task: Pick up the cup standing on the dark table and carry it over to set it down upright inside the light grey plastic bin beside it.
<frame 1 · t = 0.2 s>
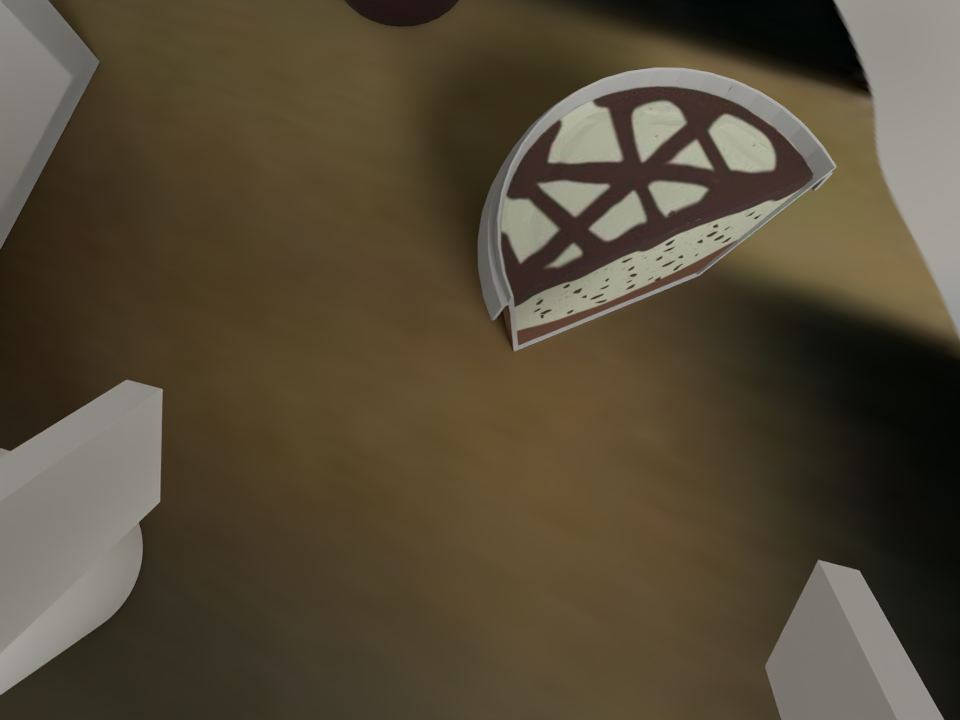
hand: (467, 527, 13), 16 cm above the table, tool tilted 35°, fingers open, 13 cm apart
food container: (579, 254, 31), on the table
cup: (66, 554, 28), on the table
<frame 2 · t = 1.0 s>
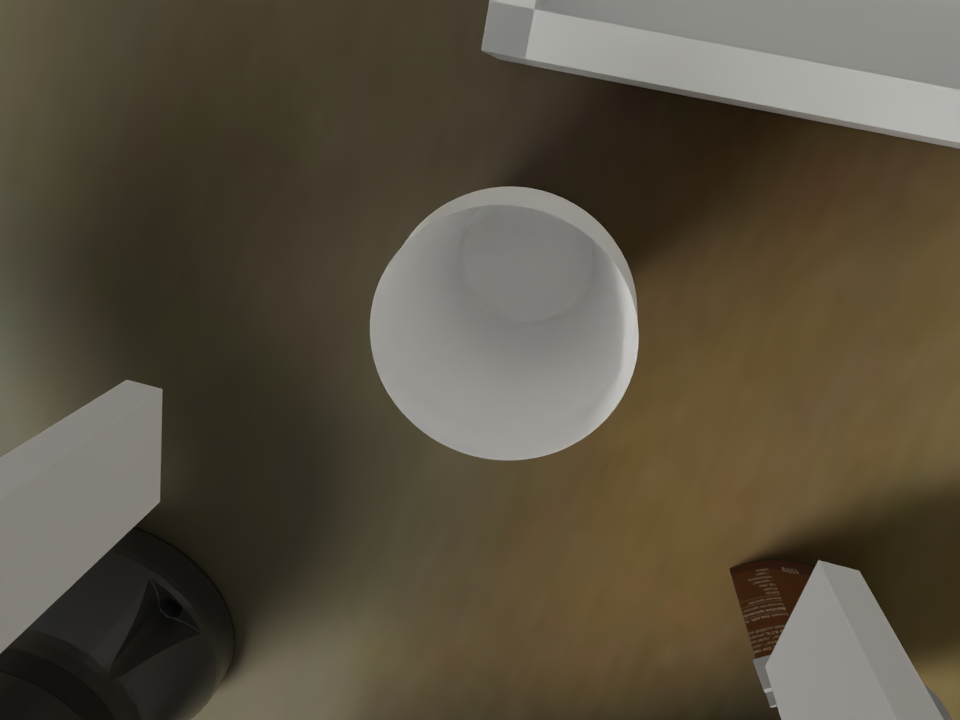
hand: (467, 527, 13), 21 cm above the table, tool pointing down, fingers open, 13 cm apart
food container: (817, 607, 38), on the table
cup: (526, 258, 33), on the table
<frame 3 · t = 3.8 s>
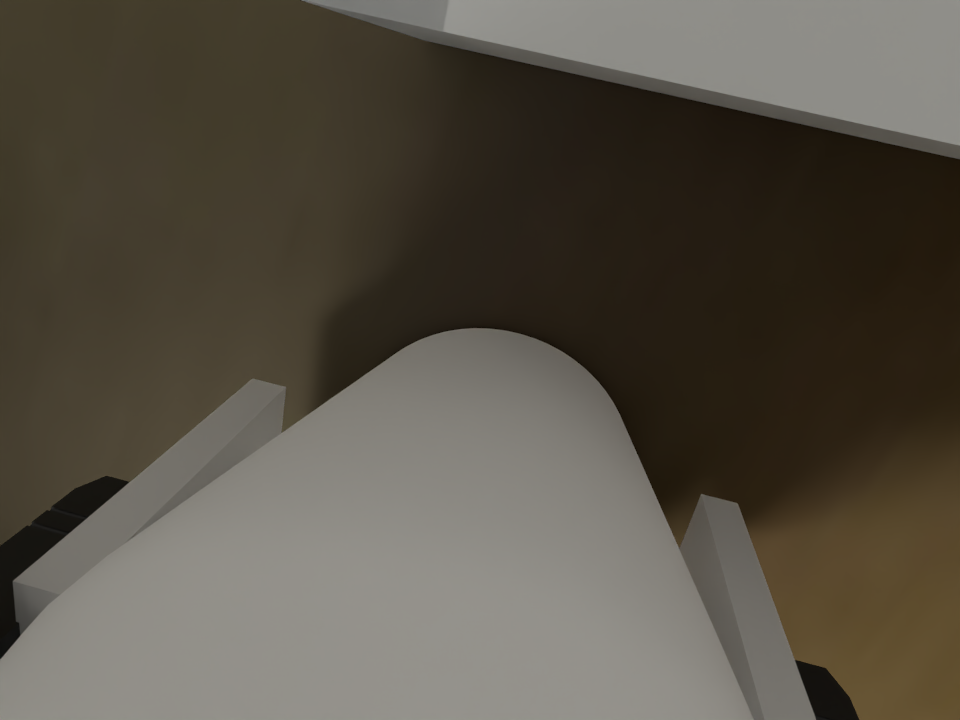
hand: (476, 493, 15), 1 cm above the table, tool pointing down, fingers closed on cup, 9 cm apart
cup: (487, 455, 16), on the table, touching gripper
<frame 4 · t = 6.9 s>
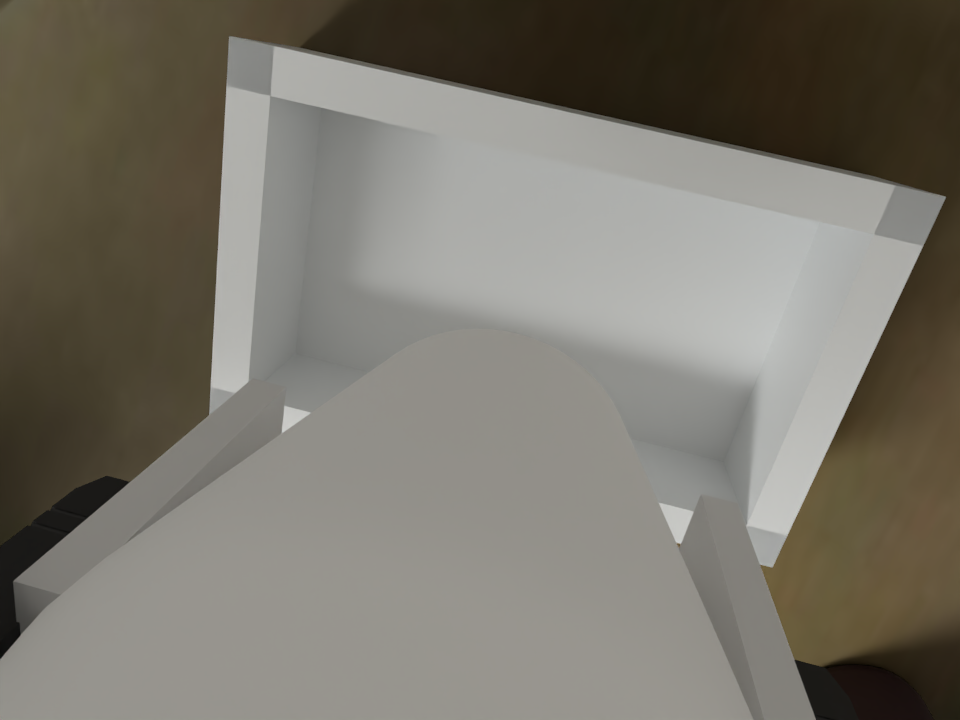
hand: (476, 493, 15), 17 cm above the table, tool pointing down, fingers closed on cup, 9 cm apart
bin: (535, 283, 31), on the table
wine bottle: (849, 707, 37), on the table
cup: (487, 455, 16), point 16 cm above the table, touching gripper
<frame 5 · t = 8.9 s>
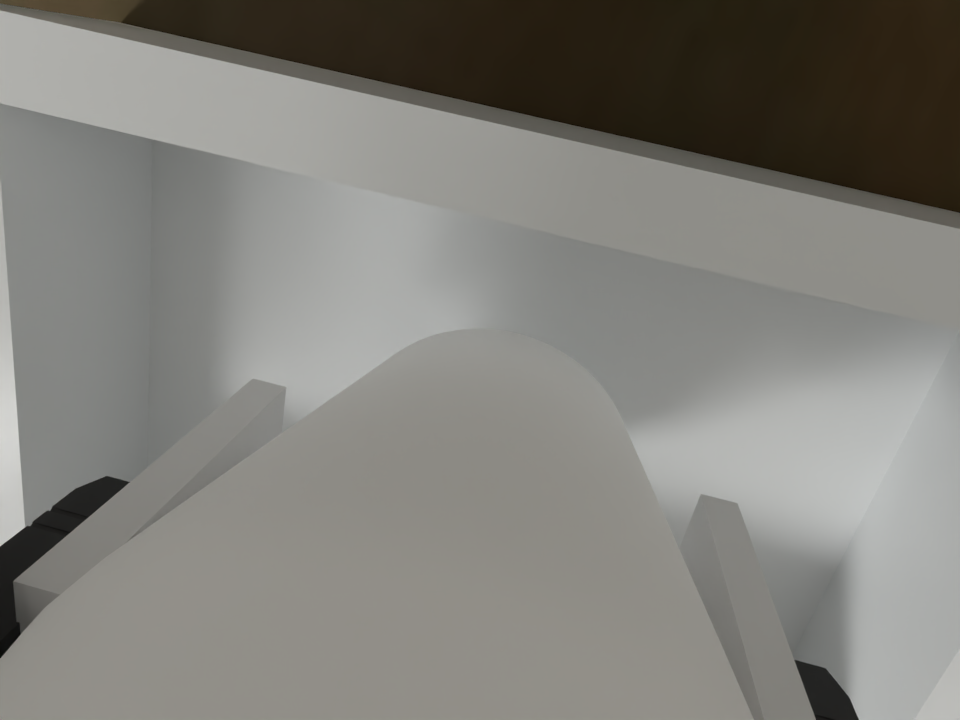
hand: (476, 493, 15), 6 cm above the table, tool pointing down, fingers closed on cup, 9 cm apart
bin: (504, 389, 20), on the table
cup: (487, 455, 16), point 4 cm above the table, touching gripper
when the fingers open (4 cm above the table, at t = 10.2 s): cup drops 1 cm, resting on bin.
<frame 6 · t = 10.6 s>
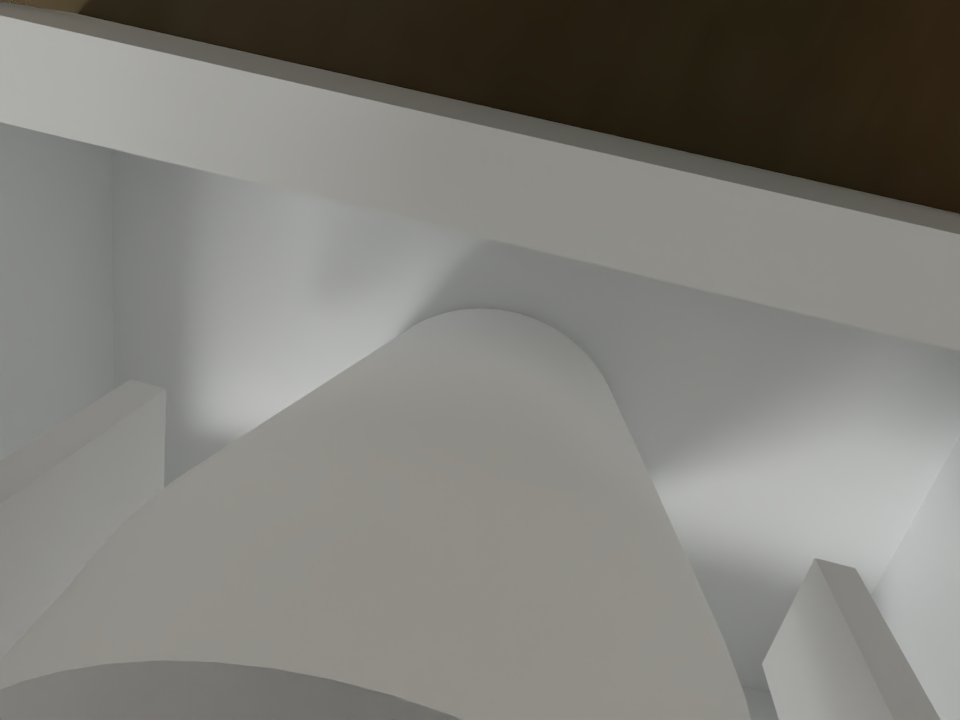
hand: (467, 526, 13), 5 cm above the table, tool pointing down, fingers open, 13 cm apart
bin: (499, 413, 18), on the table
cup: (488, 427, 17), point 1 cm above the table, touching bin
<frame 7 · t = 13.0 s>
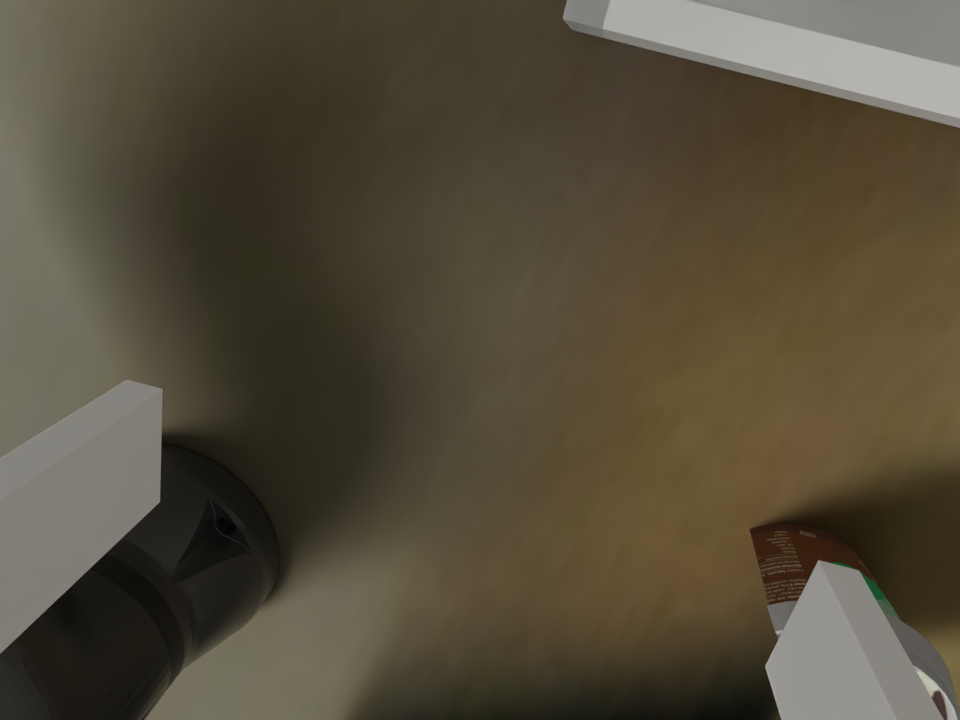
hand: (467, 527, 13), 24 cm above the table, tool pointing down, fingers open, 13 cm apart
food container: (830, 573, 40), on the table
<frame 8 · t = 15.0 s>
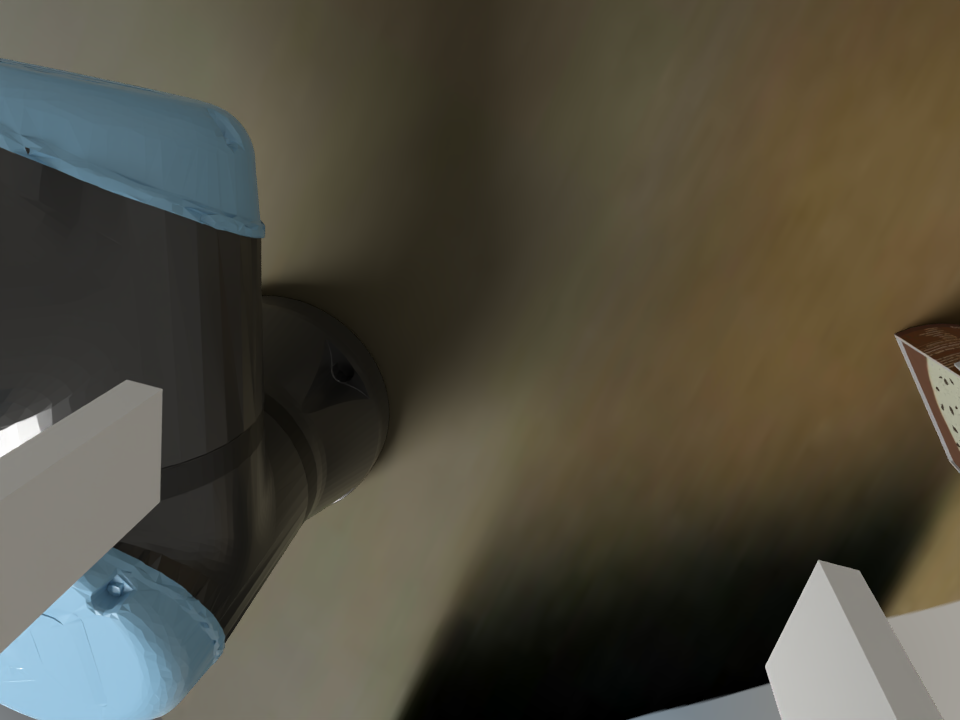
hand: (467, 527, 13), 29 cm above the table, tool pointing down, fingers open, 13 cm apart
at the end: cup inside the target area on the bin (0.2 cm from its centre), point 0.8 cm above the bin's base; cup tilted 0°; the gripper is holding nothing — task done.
